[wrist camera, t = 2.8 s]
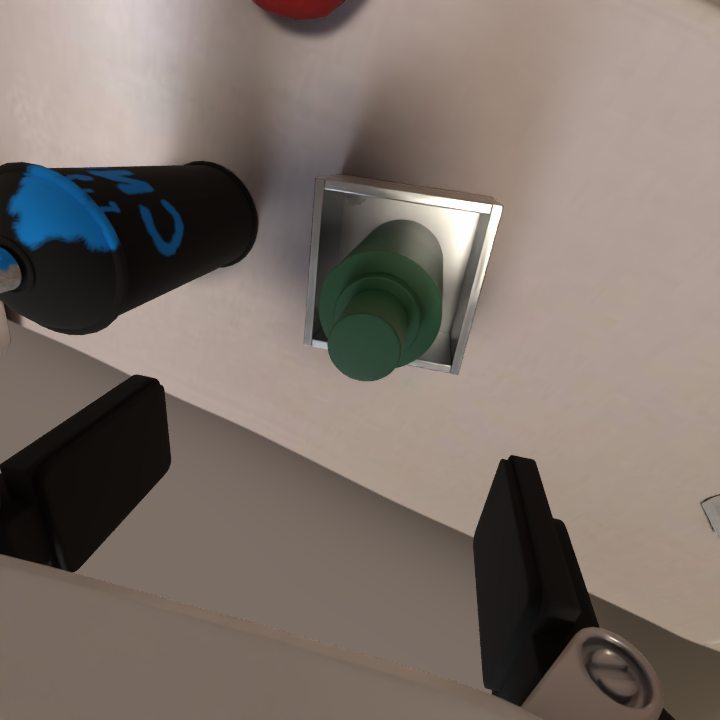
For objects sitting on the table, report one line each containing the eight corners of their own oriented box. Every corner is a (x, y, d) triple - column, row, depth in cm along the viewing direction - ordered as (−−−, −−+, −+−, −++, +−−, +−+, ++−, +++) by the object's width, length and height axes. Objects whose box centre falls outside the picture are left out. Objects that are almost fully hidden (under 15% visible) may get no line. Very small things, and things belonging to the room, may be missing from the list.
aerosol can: (230, 285, 36) (25, 406, 19) (149, 225, 35) (-148, 292, 18) (276, 206, 33) (76, 262, 15) (188, 137, 32) (-140, 108, 14)
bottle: (354, 295, 34) (286, 397, 19) (365, 212, 31) (294, 259, 16) (433, 309, 33) (424, 427, 19) (451, 226, 30) (458, 288, 16)
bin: (326, 314, 36) (303, 344, 30) (339, 174, 31) (314, 177, 25) (455, 339, 35) (458, 375, 29) (492, 196, 30) (503, 205, 24)
